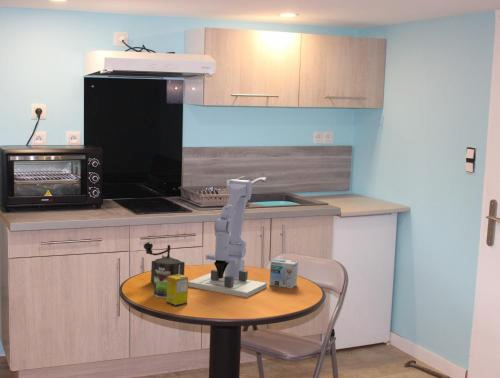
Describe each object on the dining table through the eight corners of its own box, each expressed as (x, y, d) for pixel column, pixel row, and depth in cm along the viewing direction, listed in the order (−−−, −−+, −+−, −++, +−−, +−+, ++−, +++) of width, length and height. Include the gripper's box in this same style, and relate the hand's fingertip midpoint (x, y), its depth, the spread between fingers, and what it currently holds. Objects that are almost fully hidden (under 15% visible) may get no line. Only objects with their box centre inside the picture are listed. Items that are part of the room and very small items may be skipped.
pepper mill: (166, 278, 315) (168, 237, 312) (184, 283, 308) (186, 242, 305) (140, 283, 303) (141, 242, 300) (158, 289, 296) (159, 246, 294)
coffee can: (172, 300, 281) (173, 264, 280) (148, 296, 285) (149, 261, 283) (183, 293, 291) (184, 259, 289) (160, 290, 294) (161, 256, 293)
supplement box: (178, 300, 281) (179, 273, 279) (187, 304, 276) (188, 277, 275) (165, 303, 277) (166, 275, 275) (175, 307, 272) (176, 279, 271)
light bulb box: (268, 285, 312) (270, 260, 311) (274, 281, 318) (275, 258, 317) (292, 288, 308) (293, 264, 307) (297, 285, 314) (298, 261, 313)
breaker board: (209, 277, 320) (210, 272, 319) (266, 287, 307) (266, 282, 307) (187, 286, 303) (187, 281, 302) (246, 297, 290) (246, 292, 290)
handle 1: (226, 285, 299) (227, 275, 298) (233, 286, 298) (233, 277, 297) (224, 286, 297) (224, 277, 296) (230, 287, 295) (231, 278, 295)
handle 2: (241, 279, 310) (241, 270, 310) (247, 280, 309) (247, 271, 309) (238, 280, 308) (239, 271, 308) (244, 281, 307) (245, 272, 307)
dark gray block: (213, 278, 309) (213, 269, 309) (219, 279, 308) (219, 270, 307) (210, 279, 307) (211, 270, 306) (216, 280, 306) (217, 271, 305)
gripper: (202, 245, 304) (201, 277, 306) (232, 250, 298) (231, 282, 299) (210, 243, 310) (209, 273, 312) (240, 247, 304) (239, 279, 306)
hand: (220, 277), depth 306 cm, fingers closed
